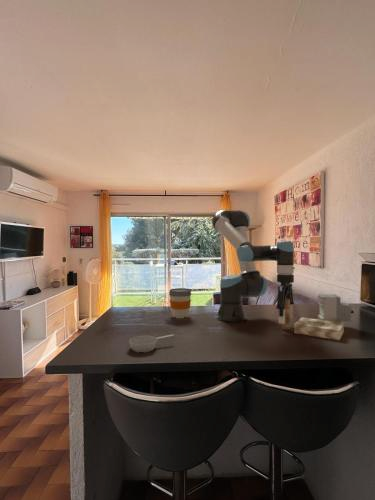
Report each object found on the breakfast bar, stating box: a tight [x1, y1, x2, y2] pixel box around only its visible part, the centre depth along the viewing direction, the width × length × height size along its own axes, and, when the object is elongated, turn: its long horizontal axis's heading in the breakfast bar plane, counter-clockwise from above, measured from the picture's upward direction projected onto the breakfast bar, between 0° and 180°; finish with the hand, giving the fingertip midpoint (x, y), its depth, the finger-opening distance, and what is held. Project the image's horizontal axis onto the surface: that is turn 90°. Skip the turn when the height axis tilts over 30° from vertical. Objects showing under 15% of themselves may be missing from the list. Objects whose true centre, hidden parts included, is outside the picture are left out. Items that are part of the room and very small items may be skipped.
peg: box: [281, 299, 291, 331], centre depth 132 cm, size 4×4×14 cm
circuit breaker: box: [317, 293, 354, 323], centre depth 134 cm, size 8×14×15 cm, turn 78°
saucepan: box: [128, 333, 175, 353], centre depth 110 cm, size 11×18×4 cm, turn 114°
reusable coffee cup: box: [168, 287, 192, 319], centre depth 158 cm, size 13×13×15 cm
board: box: [293, 317, 345, 341], centre depth 126 cm, size 18×14×4 cm
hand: (285, 320), depth 132 cm, fingers open, 11 cm apart
